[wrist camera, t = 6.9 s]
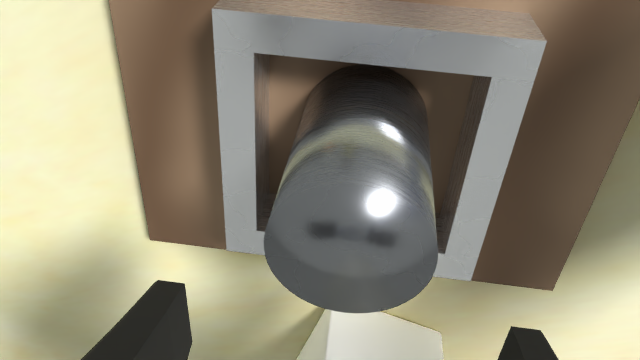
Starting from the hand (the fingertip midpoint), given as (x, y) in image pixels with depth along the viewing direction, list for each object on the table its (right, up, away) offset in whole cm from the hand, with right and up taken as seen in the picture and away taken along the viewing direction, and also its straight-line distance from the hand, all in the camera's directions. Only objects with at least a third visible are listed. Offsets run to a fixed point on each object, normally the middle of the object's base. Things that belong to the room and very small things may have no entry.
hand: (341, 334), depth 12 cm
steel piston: (+1, +6, +8) cm, 9 cm away
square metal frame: (+1, +5, +8) cm, 9 cm away
